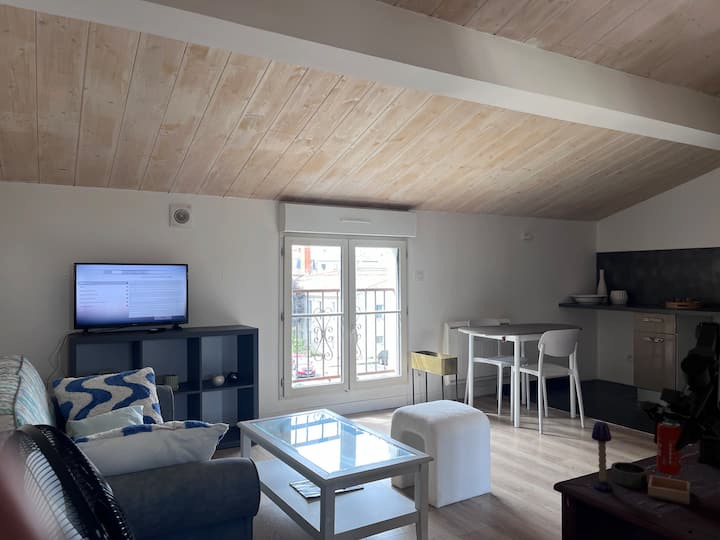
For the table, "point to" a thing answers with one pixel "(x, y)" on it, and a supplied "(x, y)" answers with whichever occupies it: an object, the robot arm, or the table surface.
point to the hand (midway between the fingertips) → (665, 446)
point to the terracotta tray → (669, 489)
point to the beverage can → (668, 448)
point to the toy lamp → (602, 454)
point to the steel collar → (629, 474)
